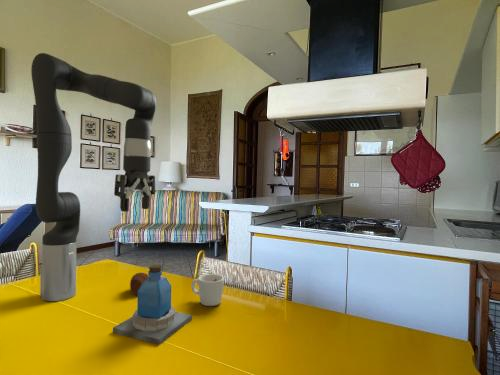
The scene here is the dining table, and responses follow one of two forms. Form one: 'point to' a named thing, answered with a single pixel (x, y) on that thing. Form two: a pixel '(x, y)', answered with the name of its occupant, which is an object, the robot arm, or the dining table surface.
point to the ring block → (153, 326)
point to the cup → (209, 289)
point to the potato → (137, 281)
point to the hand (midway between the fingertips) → (135, 210)
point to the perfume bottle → (154, 294)
